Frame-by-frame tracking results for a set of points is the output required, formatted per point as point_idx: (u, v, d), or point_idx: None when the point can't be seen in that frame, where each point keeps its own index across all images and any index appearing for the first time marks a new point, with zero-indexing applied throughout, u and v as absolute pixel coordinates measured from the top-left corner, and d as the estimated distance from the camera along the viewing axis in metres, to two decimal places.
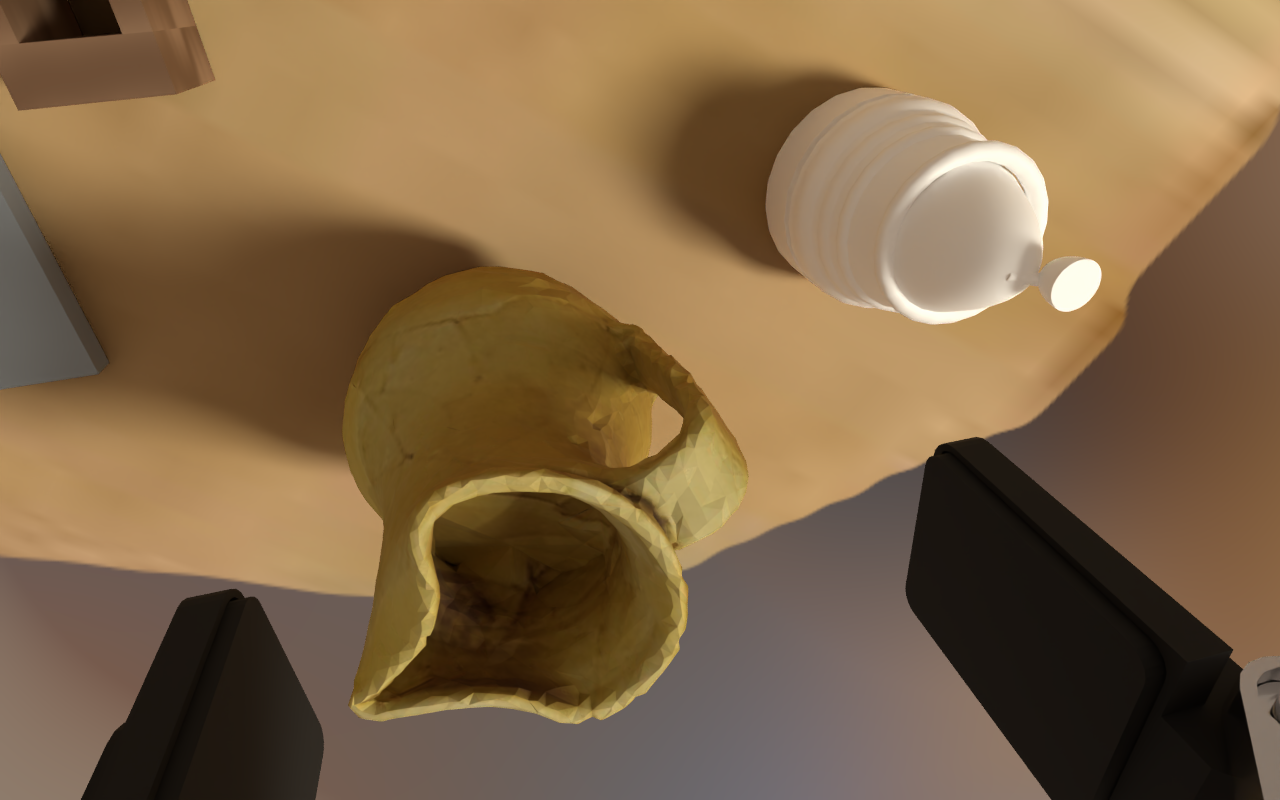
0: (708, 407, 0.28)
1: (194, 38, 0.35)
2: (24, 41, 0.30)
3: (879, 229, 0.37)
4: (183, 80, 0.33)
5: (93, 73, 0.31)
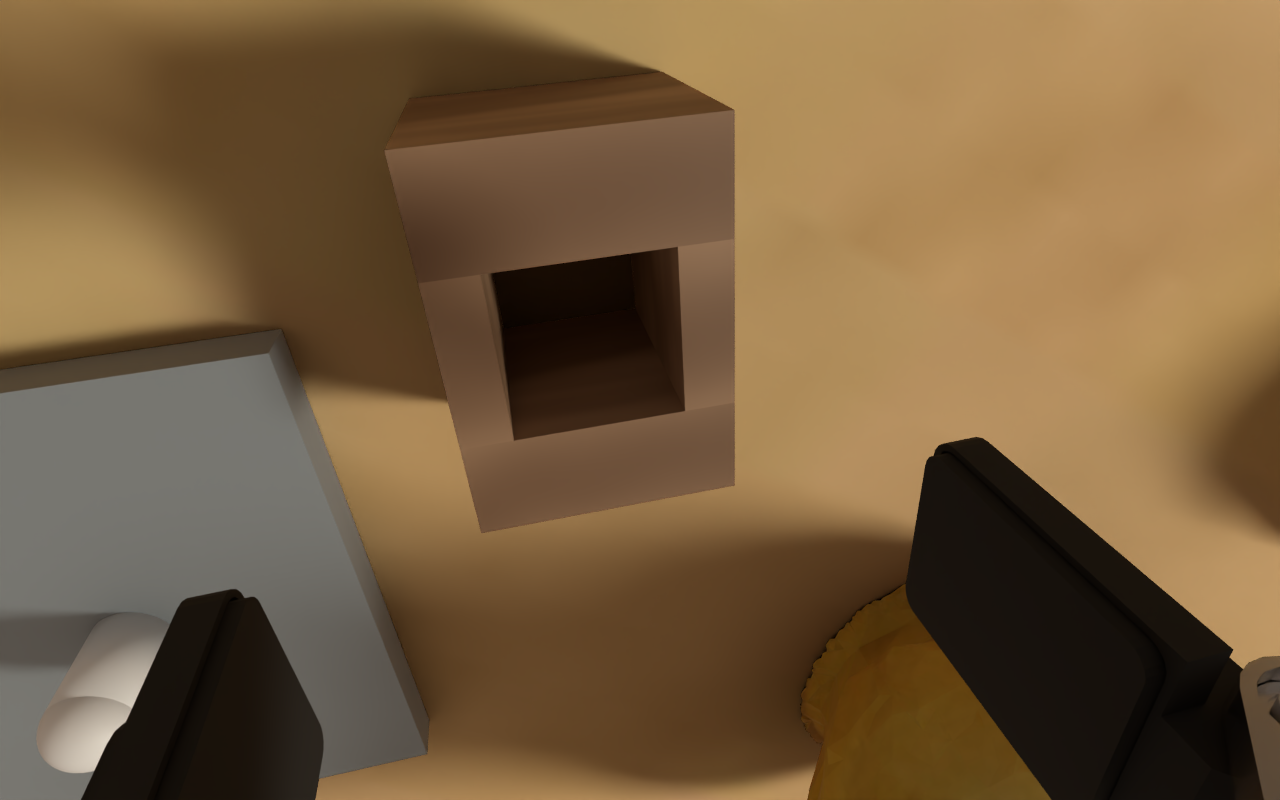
0: None
1: None
2: (512, 426, 0.16)
3: None
4: None
5: (617, 470, 0.17)
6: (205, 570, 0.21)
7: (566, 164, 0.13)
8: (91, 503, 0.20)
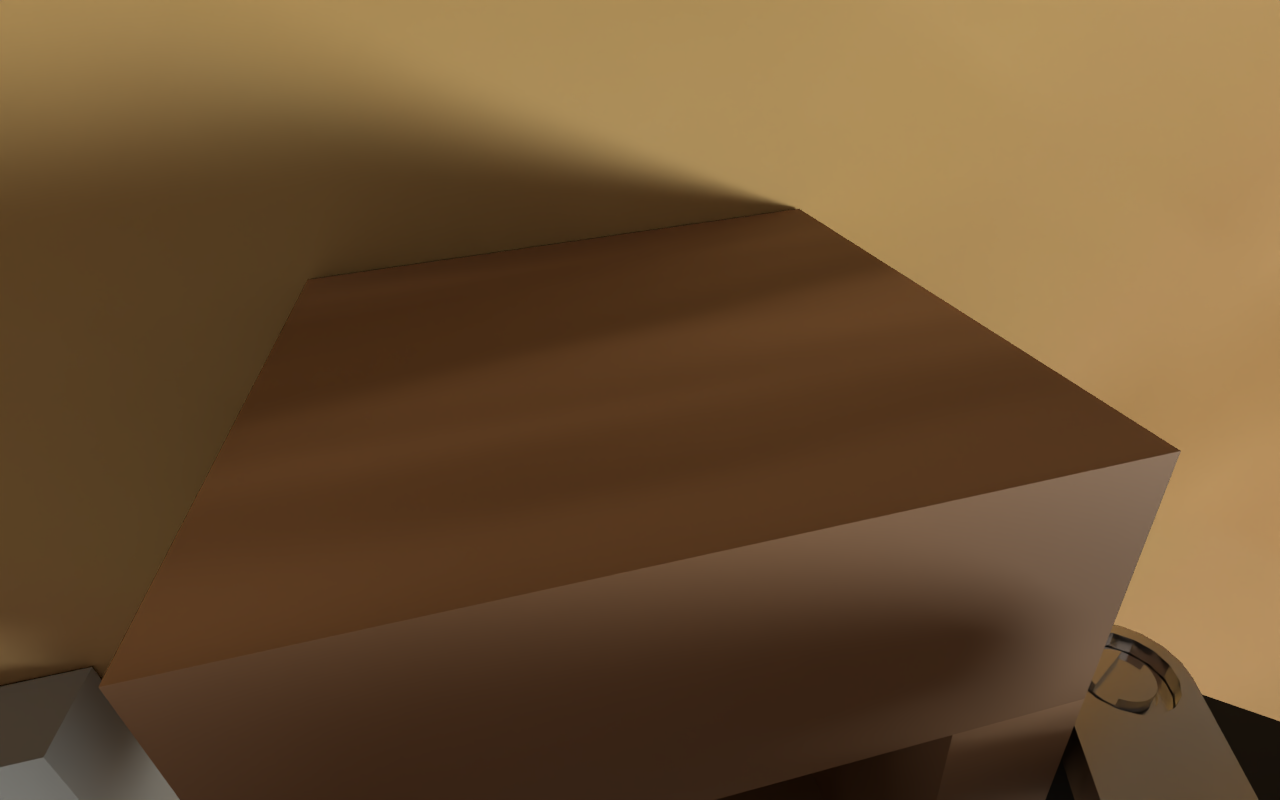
0: None
1: None
2: None
3: None
4: None
5: None
6: None
7: (696, 629, 0.04)
8: None
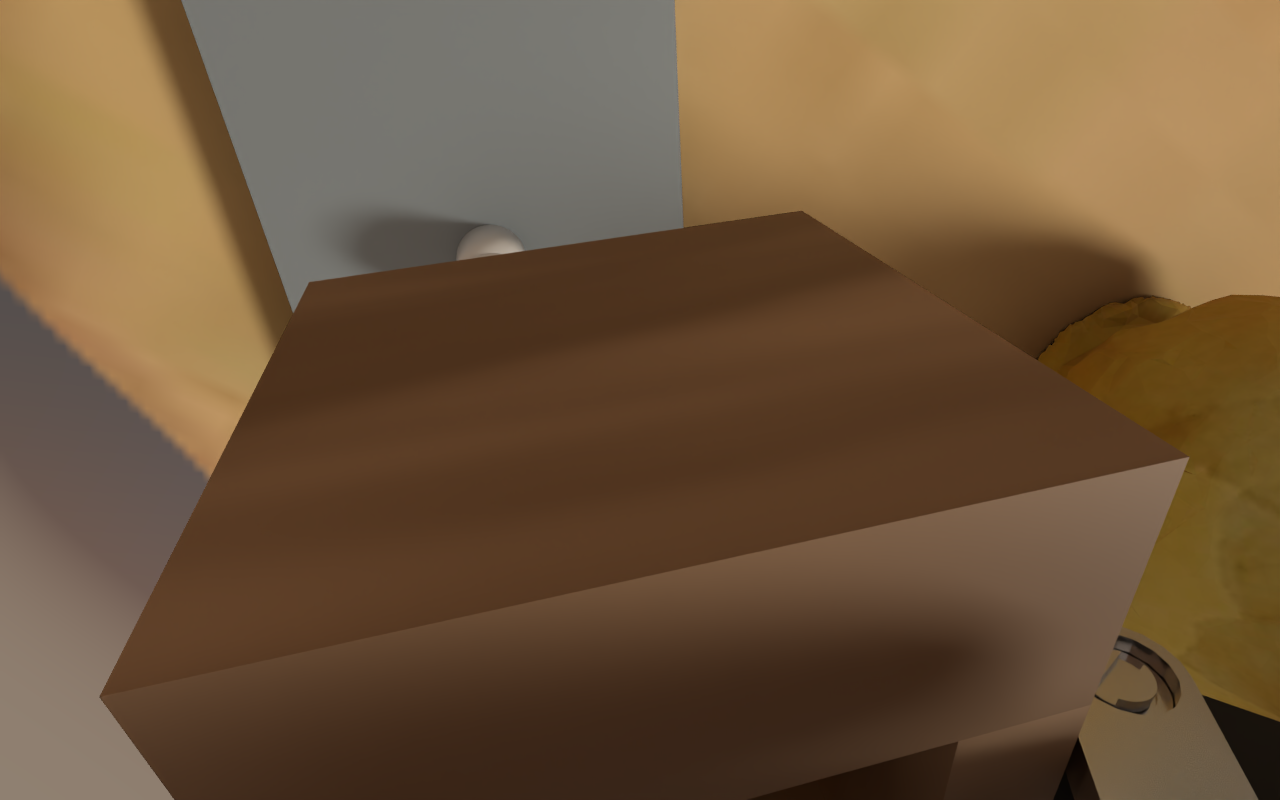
0: None
1: None
2: None
3: None
4: None
5: None
6: (565, 184, 0.24)
7: (701, 637, 0.04)
8: (495, 92, 0.22)
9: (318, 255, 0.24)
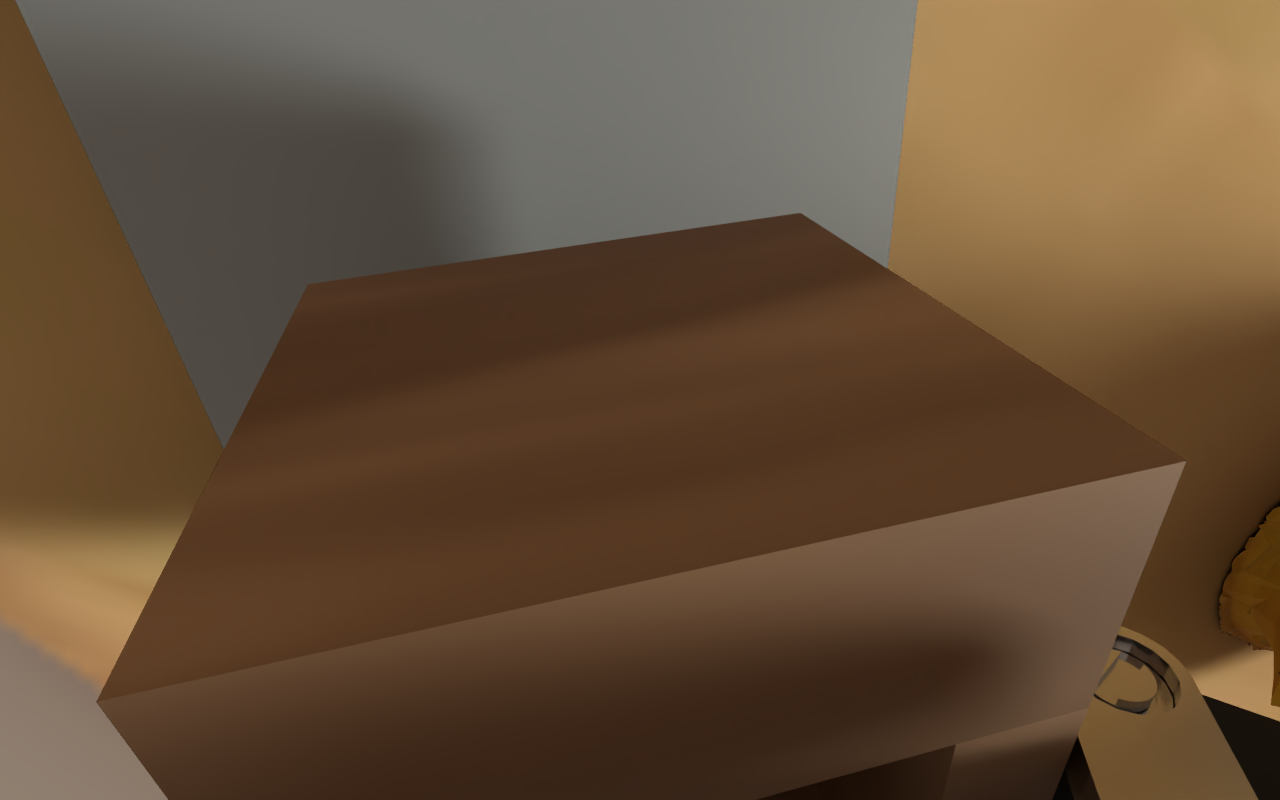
0: None
1: None
2: None
3: None
4: None
5: None
6: None
7: (700, 641, 0.04)
8: (598, 109, 0.12)
9: None
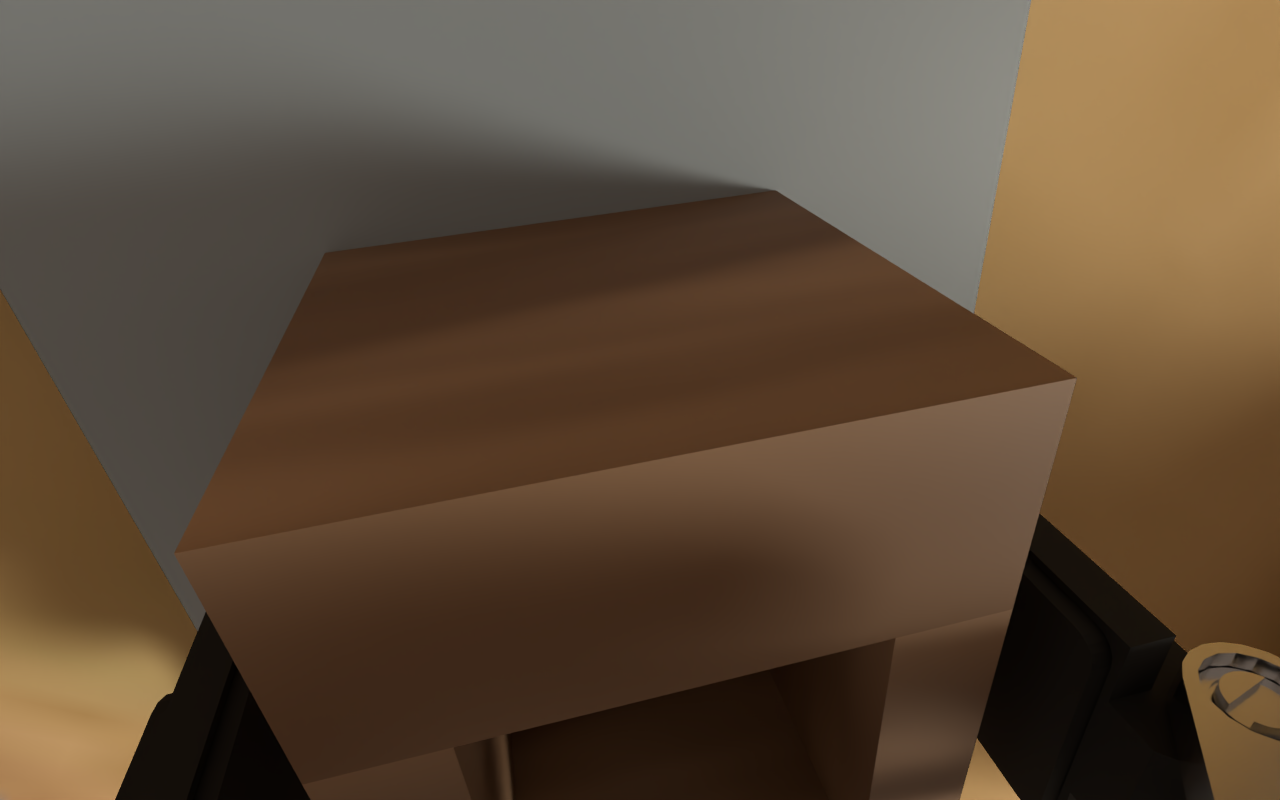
0: None
1: None
2: None
3: None
4: None
5: None
6: None
7: (667, 525, 0.05)
8: (627, 152, 0.10)
9: None
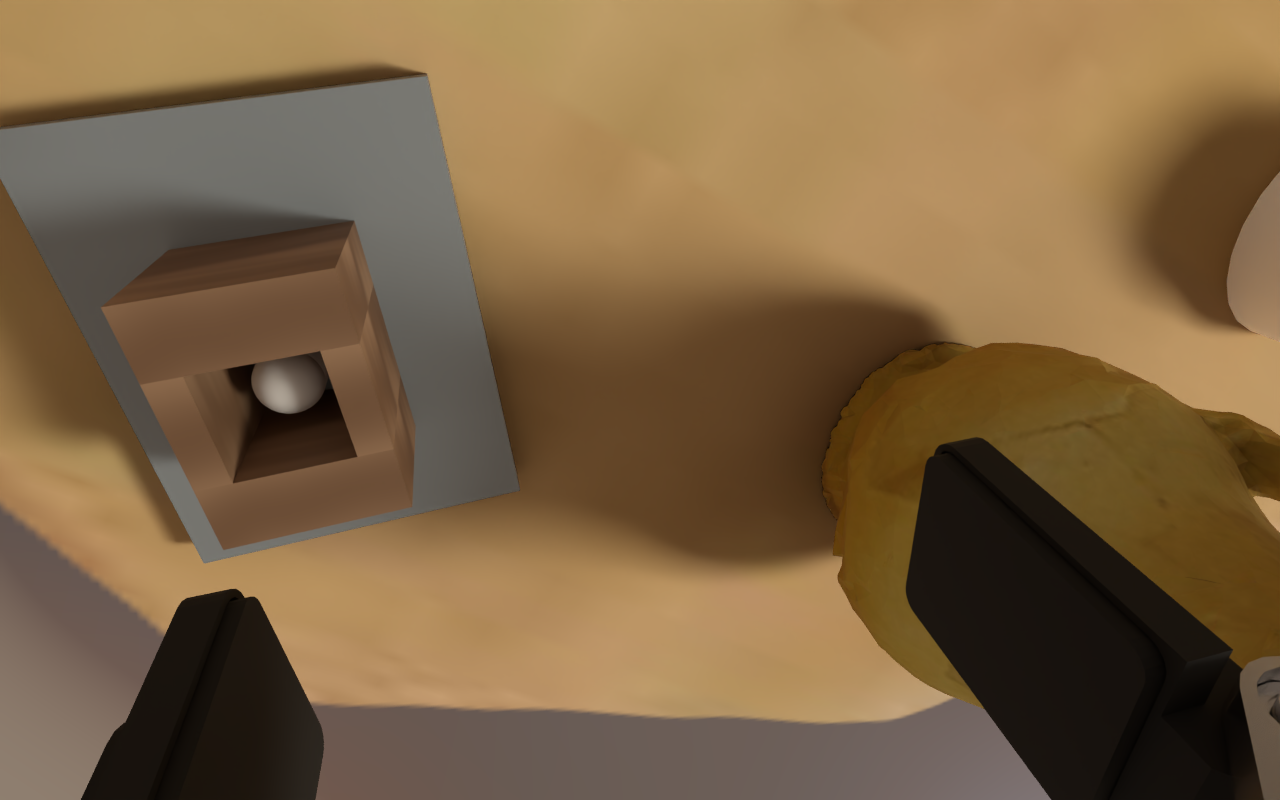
0: None
1: (403, 396, 0.29)
2: (235, 473, 0.24)
3: None
4: (410, 475, 0.27)
5: (317, 500, 0.24)
6: None
7: (227, 306, 0.21)
8: (285, 208, 0.26)
9: None
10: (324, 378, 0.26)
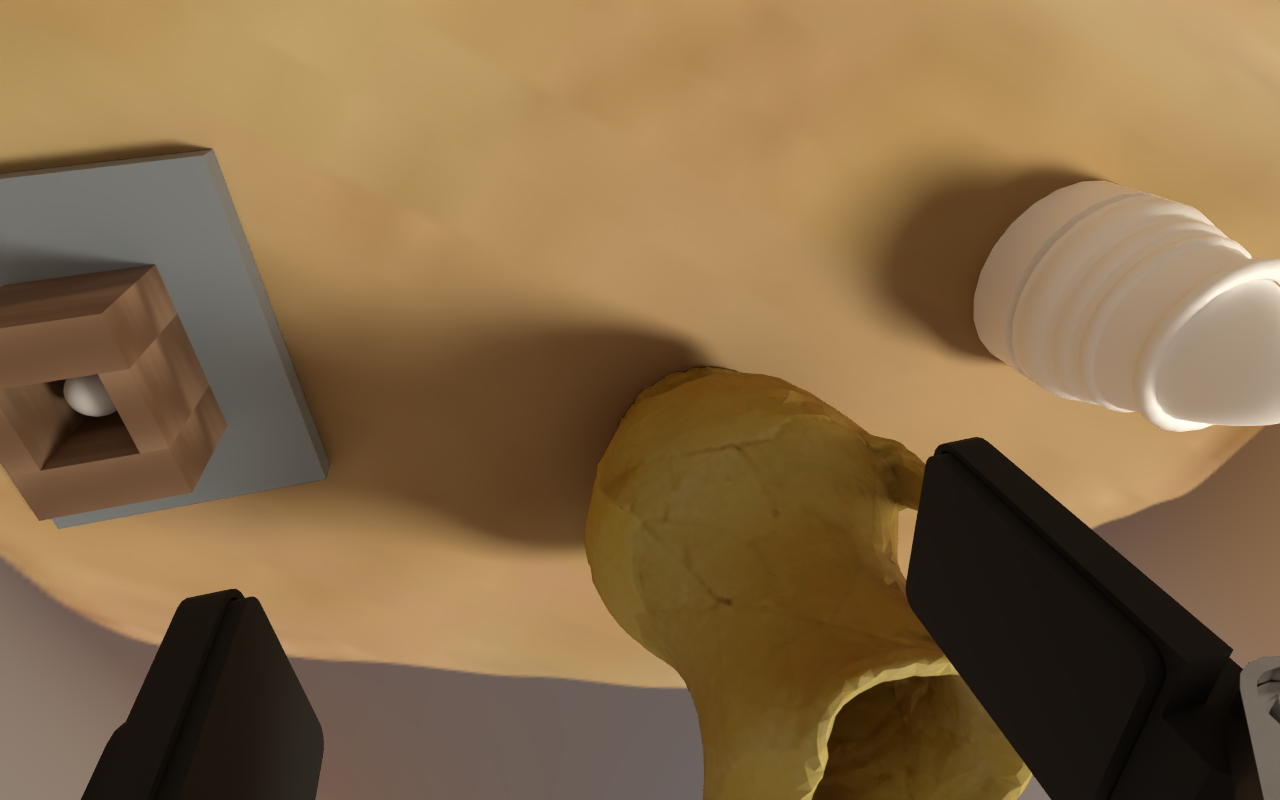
0: None
1: (208, 402, 0.36)
2: (45, 462, 0.31)
3: (1148, 345, 0.36)
4: (198, 467, 0.34)
5: (111, 485, 0.32)
6: None
7: (18, 341, 0.28)
8: (96, 254, 0.32)
9: None
10: None
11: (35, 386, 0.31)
